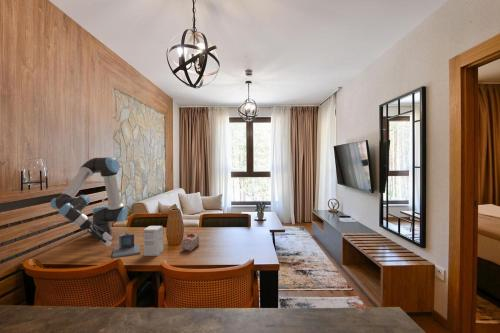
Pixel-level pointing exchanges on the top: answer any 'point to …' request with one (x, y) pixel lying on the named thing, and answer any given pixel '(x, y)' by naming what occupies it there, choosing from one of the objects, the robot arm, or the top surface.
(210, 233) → the top surface
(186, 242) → the food item
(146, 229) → the supplement box
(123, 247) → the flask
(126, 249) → the slate board
